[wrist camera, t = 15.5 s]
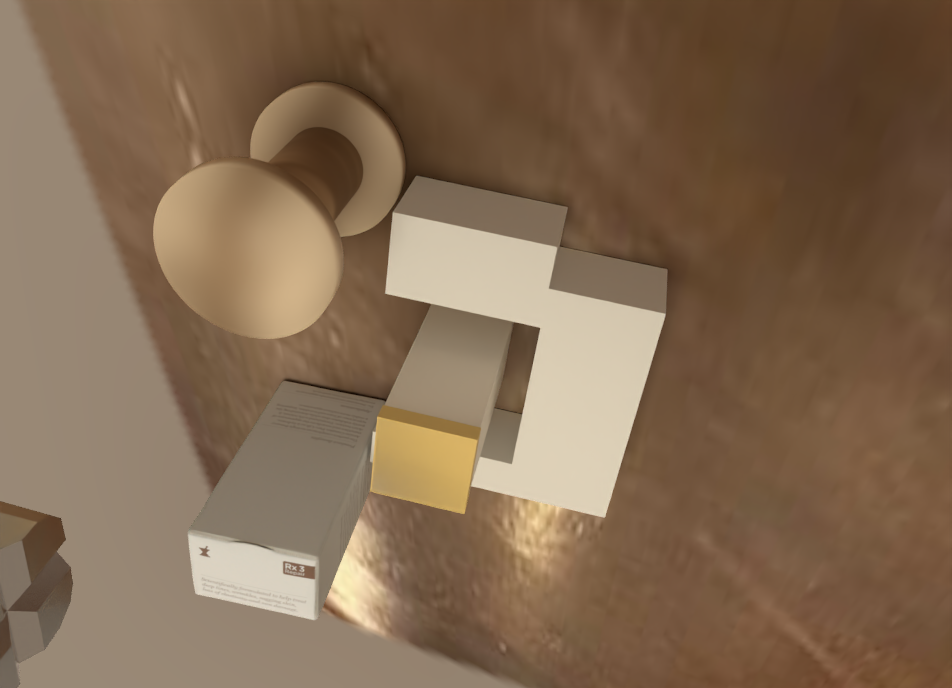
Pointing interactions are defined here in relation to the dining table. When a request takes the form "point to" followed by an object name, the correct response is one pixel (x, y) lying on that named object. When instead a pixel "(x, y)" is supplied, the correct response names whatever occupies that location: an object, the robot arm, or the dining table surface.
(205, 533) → the skincare box
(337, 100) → the spool
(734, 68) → the dining table surface
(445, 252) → the notched board
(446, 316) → the gold trimmed white carton
